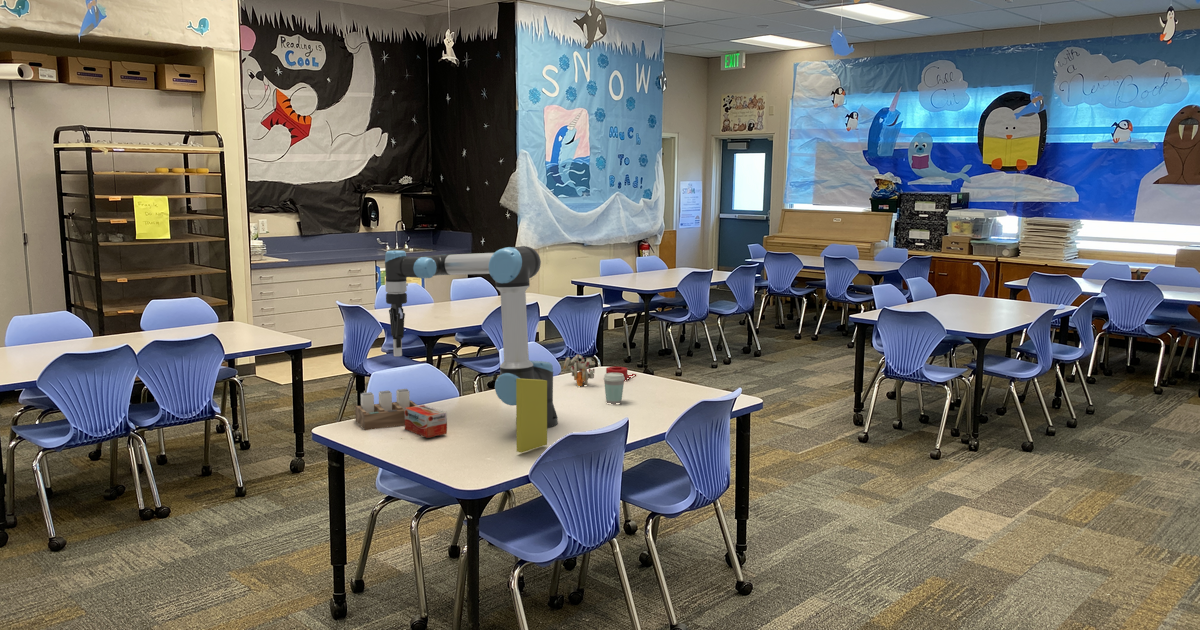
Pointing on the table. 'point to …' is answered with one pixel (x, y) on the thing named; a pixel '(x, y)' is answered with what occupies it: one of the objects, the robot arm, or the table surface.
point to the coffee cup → (614, 387)
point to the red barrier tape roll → (619, 371)
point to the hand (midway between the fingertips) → (397, 355)
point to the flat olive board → (531, 414)
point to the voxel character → (583, 374)
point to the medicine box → (425, 421)
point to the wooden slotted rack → (381, 416)
